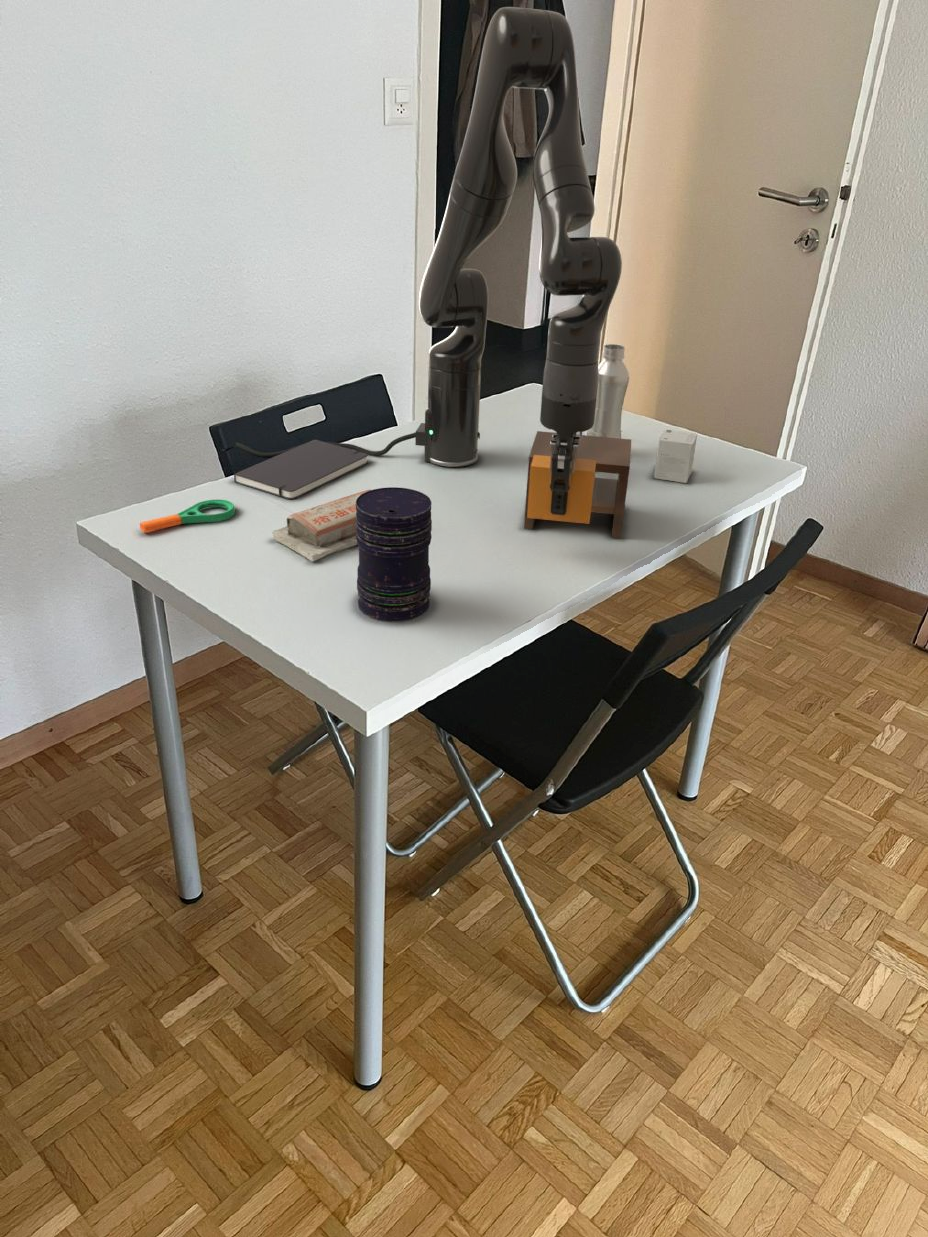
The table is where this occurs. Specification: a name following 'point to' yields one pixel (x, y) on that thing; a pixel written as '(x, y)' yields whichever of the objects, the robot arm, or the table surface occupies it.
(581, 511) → the packet
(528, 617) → the table surface
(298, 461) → the notebook
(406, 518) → the storage jar
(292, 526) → the packaged product
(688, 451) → the product carton
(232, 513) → the magnifying glass
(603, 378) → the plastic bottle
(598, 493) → the wooden shelf
